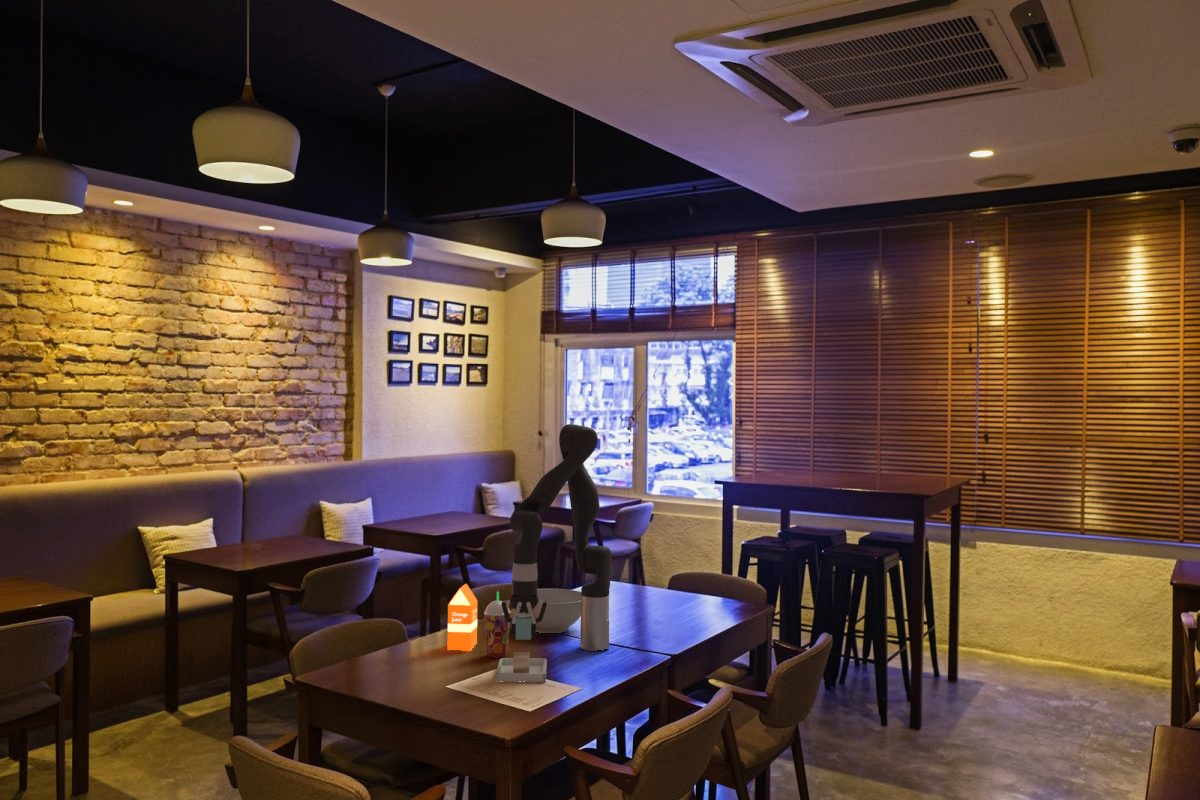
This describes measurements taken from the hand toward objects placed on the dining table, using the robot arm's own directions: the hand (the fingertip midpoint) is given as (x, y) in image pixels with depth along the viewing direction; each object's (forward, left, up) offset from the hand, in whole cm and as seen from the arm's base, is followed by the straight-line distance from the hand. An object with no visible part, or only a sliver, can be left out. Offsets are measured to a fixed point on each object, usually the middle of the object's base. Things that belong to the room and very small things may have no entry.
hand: (523, 635), depth 261 cm
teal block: (0, 0, -1) cm, 1 cm away
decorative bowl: (-7, -50, -11) cm, 52 cm away
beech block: (0, +8, -10) cm, 12 cm away
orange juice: (+21, -26, -11) cm, 35 cm away
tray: (0, +4, -10) cm, 11 cm away
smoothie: (+9, -16, -11) cm, 21 cm away
